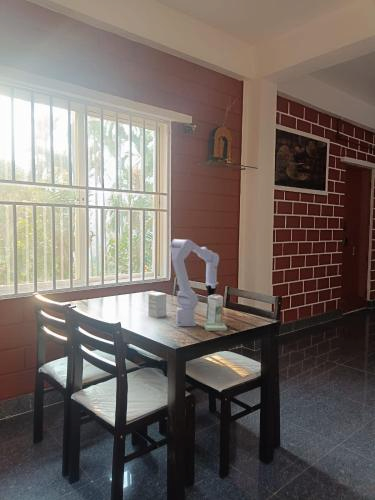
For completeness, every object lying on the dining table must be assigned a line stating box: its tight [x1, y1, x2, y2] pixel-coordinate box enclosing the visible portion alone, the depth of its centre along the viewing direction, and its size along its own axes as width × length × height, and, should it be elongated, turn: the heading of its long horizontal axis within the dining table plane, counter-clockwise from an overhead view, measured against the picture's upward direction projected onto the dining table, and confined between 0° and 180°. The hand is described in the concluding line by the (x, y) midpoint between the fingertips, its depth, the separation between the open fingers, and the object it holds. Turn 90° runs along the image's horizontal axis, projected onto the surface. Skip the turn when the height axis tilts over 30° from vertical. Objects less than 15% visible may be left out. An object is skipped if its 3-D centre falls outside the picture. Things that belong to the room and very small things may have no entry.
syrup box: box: [205, 293, 224, 323], centre depth 189 cm, size 6×6×14 cm
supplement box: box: [147, 291, 167, 319], centre depth 203 cm, size 7×7×13 cm
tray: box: [203, 322, 228, 332], centre depth 182 cm, size 10×9×1 cm
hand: (210, 299), depth 200 cm, fingers closed
